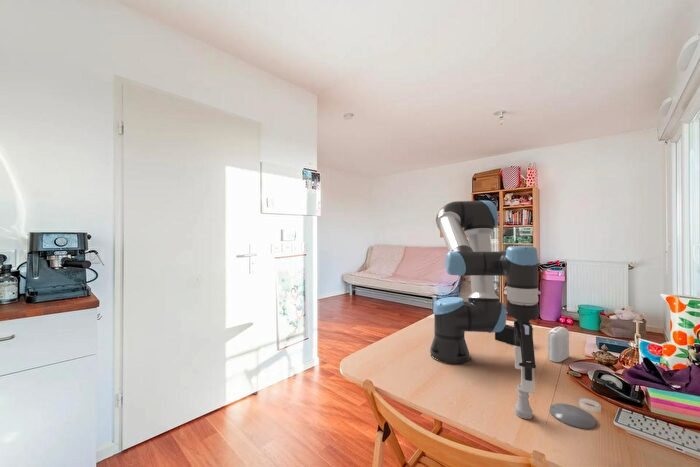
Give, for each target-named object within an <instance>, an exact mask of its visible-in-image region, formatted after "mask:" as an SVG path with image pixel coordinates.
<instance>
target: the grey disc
mask: <svg viewBox="0 0 700 467" xmlns="http://www.w3.org/2000/svg"><path fill="white" fill-rule="evenodd" d="M549 412H550V414H551V415H552V416H553V417H554V418H555V420H557V421H559V422H561V423H563V424H565V425H567V426H569V427H573V428H577V429H582V430H590V429H593V428H595V427H596V426H597V420H596V417H594V416H593V415H592V414H591V413H590V412H588V411H586V410H585V409H583V408H580V407H578V406H575V405H572V404H567V403H562V402H561V403H552V404H551V405H550V406H549Z"/></svg>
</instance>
